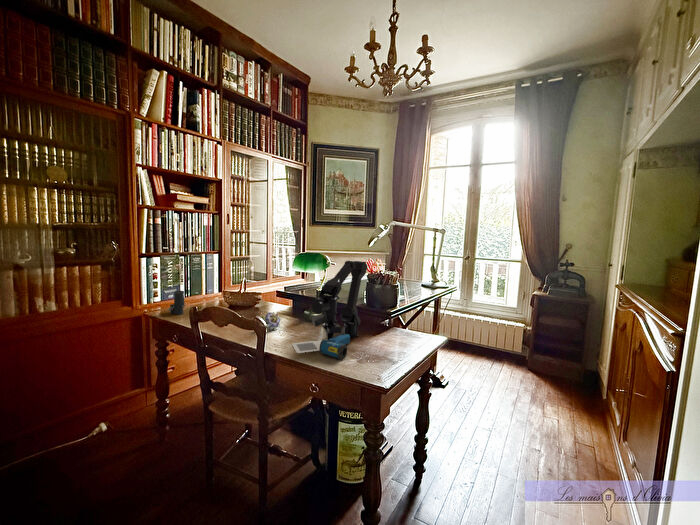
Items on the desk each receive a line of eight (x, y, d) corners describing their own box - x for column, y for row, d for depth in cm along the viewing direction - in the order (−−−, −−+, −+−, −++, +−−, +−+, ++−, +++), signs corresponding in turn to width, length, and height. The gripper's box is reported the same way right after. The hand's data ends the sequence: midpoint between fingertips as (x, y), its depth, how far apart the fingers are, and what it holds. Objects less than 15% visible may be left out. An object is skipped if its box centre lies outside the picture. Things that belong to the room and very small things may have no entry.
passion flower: (274, 340, 170) (269, 326, 162) (258, 332, 174) (252, 319, 166) (286, 324, 177) (282, 310, 169) (271, 317, 181) (266, 304, 173)
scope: (179, 289, 197) (189, 291, 192) (180, 310, 198) (190, 313, 194) (166, 291, 190) (176, 293, 185) (167, 313, 191) (177, 316, 187)
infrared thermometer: (362, 348, 150) (339, 361, 133) (338, 342, 157) (314, 353, 140) (363, 335, 150) (340, 347, 132) (339, 329, 156) (315, 339, 139)
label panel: (338, 338, 161) (338, 338, 161) (347, 347, 150) (347, 346, 150) (291, 343, 151) (291, 343, 151) (297, 353, 140) (297, 353, 140)
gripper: (308, 304, 155) (307, 335, 157) (319, 316, 138) (317, 350, 140) (330, 304, 159) (328, 333, 161) (343, 315, 142) (341, 348, 144)
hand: (328, 341), depth 152 cm, fingers closed
